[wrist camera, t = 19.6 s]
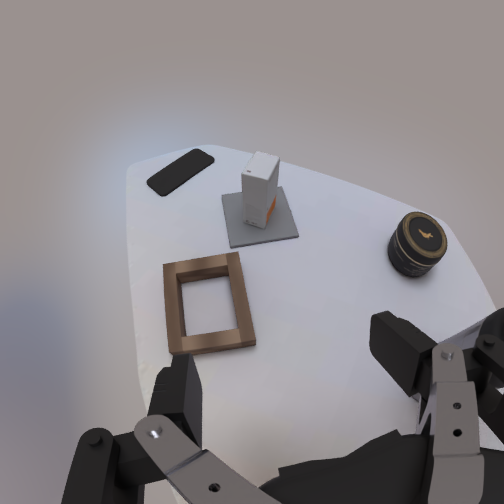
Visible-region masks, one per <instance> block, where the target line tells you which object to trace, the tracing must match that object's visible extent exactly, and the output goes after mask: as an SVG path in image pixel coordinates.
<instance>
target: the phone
mask: <svg viewBox="0 0 504 504" xmlns="http://www.w3.org/2000/svg"><path fill="white" fill-rule="evenodd" d="M214 161H215V160H214V158H213V157H212V156H210V155H208V154H207V153H205V152H203V151H202V150H200V149H193V150H191V151H190V152H188V153H186V154H185V155H183V156H182V157H180V158H179V159H177V160H175V161H174V162H172V163H171V164H169V165H168V166H166V167H165V168H163V169H162V170H160V171H159V172H157V173H156V174H154V175H153V176H152V177H150V178H149V179H148V180H147V185H148V186H149V187H151V188H152V189H153V190H154V191H155V192H156V193H158V194H159V195H160V196H167V195H168V194H170V193H171V192H172V191H174V190H175V189H177V188H178V187H179V186H181V185H182V184H184V183H185V182H186V181H188V180H189V179H190V178H192V177H193V176H195V175H196V174H198V173H199V172H201V171H202V170H203V169H205V168H206V167H208V166H209V165H211V164H212V163H214Z"/></svg>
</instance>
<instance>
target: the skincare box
mask: <svg viewBox="0 0 504 504" xmlns="http://www.w3.org/2000/svg"><path fill="white" fill-rule="evenodd" d="M279 163H280V157H277V156H273V155H269V154H265V153H262V152H258V151H256V152H255V154H254V155H253V157H252V158H251V159H250V161H249V162H248V164H247V166H246V167H245V169H244V170H243V172H242V175H241V176H242V201H243V222H244V223H247V224H250V225H253V226H257V227H260V228H263V229H265V227H266V225H267V223H268V220H269V218H270V216H271V214H272V212H273V210H274V208H275V206H276V196H277V185H278V174H279Z"/></svg>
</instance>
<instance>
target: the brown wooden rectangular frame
mask: <svg viewBox="0 0 504 504" xmlns="http://www.w3.org/2000/svg"><path fill="white" fill-rule="evenodd" d="M228 275H229V278H230V283H231V289H232V295H233V301H234V306H235V312H236V317H237V323H238V328H237V329H232V330H226V331H219V332H213V333H206V334H200V335H193V336H186V329H185V320H184V310H183V300H182V288H181V283H185V282H192V281H198V280H204V279H210V278H216V277H222V276H228ZM163 277H164V297H165V312H166V325H167V337H168V347H169V353H171V354H172V355H177V354H185V353H191V354H192V355H196V354H203V353H210V352H217V351H223V350H229V349H235V348H241V347H247V346H252V345H256V338H255V333H254V328H253V323H252V318H251V313H250V308H249V303H248V298H247V293H246V288H245V283H244V278H243V273H242V268H241V263H240V258H239V253H238V252H232V253H227V254H221V255H215V256H209V257H203V258H197V259H191V260H185V261H179V262H173V263H167V264H163Z"/></svg>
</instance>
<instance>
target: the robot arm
mask: <svg viewBox="0 0 504 504" xmlns="http://www.w3.org/2000/svg"><path fill="white" fill-rule="evenodd" d="M369 346H370V351H371V353H372V355H373V356H374V357H375V359H376V360H377V361H378V362H379V363H380V364H381V365H382V367H383V368H384V369H385V370H386V371H387V372H388V373H389V375H390V376H391V377H392V378H393V379H394V380H395V381H396V383H397V384H398V385H399V386H400V387H401V388H402V389H403V391H404V392H405V393H406V394H407V395H408V396H409V397H411V396H412V397H413V398H414V399H416V400H417V401H419V407H418V416H417V424H416V431H415V434H409V435H402V436H401V435H400V433H399V432H398V430H397V429H396V430H394V431H391V432H389V433H387V434H385V435H382V436H380V437H378V438H375V439H373V440H371V441H369V442H368V443H366V444H365V445H363V446H362V447H360V448H358V449H357V450H355V451H354V452H352V453H350V454H349V455H347V456H345V457H341V458H333V459H324V460H312V461H307V462H303V463H299V464H295V465H290V466H286V467H281V468H278V470H279V476H278V477H276V478H273V479H271V480H270V481H268V482H266V483H265V484H263V485H262V486H260V487H259V488H257V487H256V486H254V485H253V484H251V483H250V482H249V481H247V480H246V479H245V478H243V477H242V476H240V475H239V474H238V473H236V472H235V471H234V470H233V469H231V468H230V467H229V466H227V465H226V464H225V463H224V462H222V461H221V460H220V459H219V458H218V457H216V456H215V455H214V454H213V453H211V452H210V451H209V450H207V449H205V450H202V386H201V381H200V378H199V375H198V372H197V369H196V366H195V362H194V359H193V356H192V354H191V353H185V354H177V355H173V359H172V363H171V367H164V368H163V369H162V370H161V371H160V372H159V374H158V375H157V377H156V381H155V385H154V389H153V393H152V398H151V402H150V406H149V410H148V415H147V417H145V418H143V419H141V420H140V421H139V422H138V423H137V425H136V426H135V428H134V431H132V432H129V433H125V434H121V435H116V436H113V435H112V434H111V433H110V432H109V431H108V430H106V429H104V428H93V429H90V430H88V431H87V432H85V433H84V434H83V435H82V436H81V438H80V440H79V442H78V445H77V448H76V452H75V455H74V458H73V461H72V465H71V468H70V472H69V475H68V479H67V483H66V486H65V490H64V494H63V498H62V502H61V504H144V489H145V484H148V483H152V482H156V481H160V480H164V479H167V480H168V482H169V483H170V484H171V485H172V486H173V487H174V488H175V490H176V491H177V492H178V493H179V494H180V495H181V496H182V497H183V498H184V499H185V500H186V501H187V502H188V503H189V504H504V451H500V450H494V449H488V448H482V447H480V443H479V421H478V415H479V416H480V418H481V419H482V420H483V421H484V422H485V423H486V424H487V426H488V427H489V428H490V429H491V430H492V431H493V432H494V434H495V435H496V436H497V437H498V438H499V440H500V441H501V442H502V443H503V444H504V394H503V395H502V394H501V393H500V392H499V391H498V390H497V389H499V388H503V387H504V308H501V309H499V310H497V311H495V312H494V313H492V314H491V315H489V316H487V317H486V318H484V319H482V320H481V321H479V322H477V323H475V324H474V325H472V326H470V327H469V328H467V329H465V330H463V331H461V332H459V333H457V334H456V335H454V336H452V337H450V338H448V339H446V340H444V341H442V342H440V343H438V344H437V343H436V342H435V341H434V340H432V339H431V338H430V337H429V336H427V335H426V334H425V333H423V332H421V330H420V329H418V328H417V327H415V326H414V325H413V324H412V323H410V322H409V321H407V320H404V319H402V318H397V317H396V316H394V315H393V314H392V313H391V312H389V311H384V312H381V313H377V314H374V315H372V317H371V326H370V341H369Z"/></svg>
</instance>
